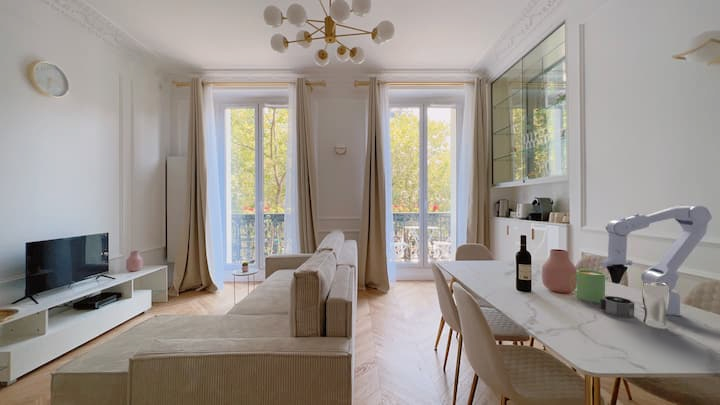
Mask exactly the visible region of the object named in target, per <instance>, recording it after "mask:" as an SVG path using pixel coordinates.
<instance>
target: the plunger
mask: <svg viewBox="0 0 720 405" xmlns="http://www.w3.org/2000/svg"><path fill="white" fill-rule="evenodd" d="M613 302H617V303H623V300H622V299H618V298H613Z"/></svg>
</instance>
